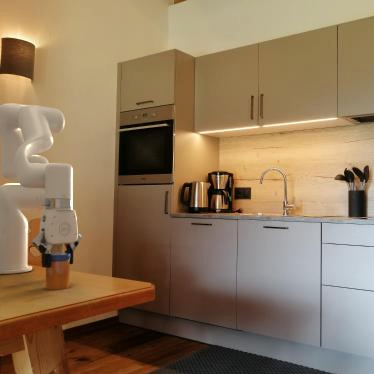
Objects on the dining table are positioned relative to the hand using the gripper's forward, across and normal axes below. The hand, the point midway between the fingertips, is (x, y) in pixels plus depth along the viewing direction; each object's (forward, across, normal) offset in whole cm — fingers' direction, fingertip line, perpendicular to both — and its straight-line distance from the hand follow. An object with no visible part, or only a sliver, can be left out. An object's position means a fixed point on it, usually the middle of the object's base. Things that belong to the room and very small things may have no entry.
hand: (57, 265), depth 124 cm
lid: (-3, 0, 0) cm, 3 cm away
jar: (+7, 0, 0) cm, 7 cm away
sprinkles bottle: (+7, +9, +13) cm, 17 cm away
